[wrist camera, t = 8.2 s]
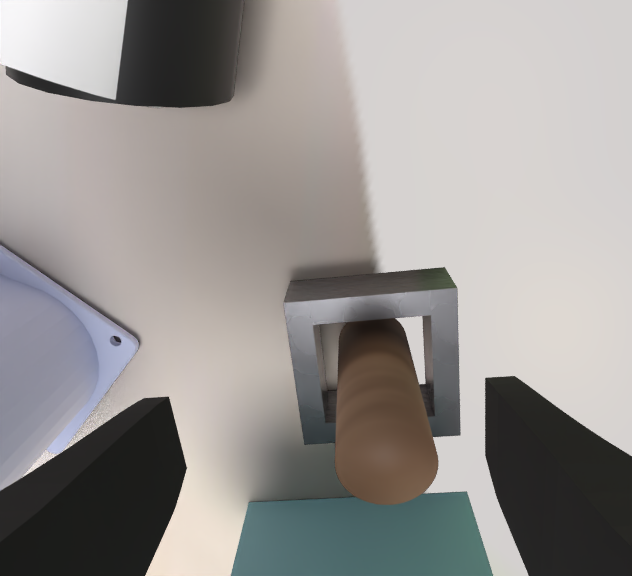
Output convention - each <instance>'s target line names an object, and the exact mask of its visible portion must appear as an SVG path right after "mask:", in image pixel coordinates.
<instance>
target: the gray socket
mask: <svg viewBox="0 0 632 576" xmlns="http://www.w3.org/2000/svg"><path fill="white" fill-rule="evenodd" d="M457 299H458V298H457V287H456V285H455V283H454V282H453V280H452V279H451V277H450V275H449V274H448V272H447V270H446V269H445V267H443V268H432V269H421V270H410V271H401V272H400V271H399V272H388V273H377V274H366V275H355V276H344V277H334V278H323V279H312V280H301V281H290V284H289V287H288V290H287V293H286V297H285V300H284V303H283V304H284V311H285V317H286V324H287V331H288V338H289V344H290V351H291V358H292V364H293V371H294V378H295V384H296V391H297V398H298V405H299V411H300V418H301V425H302V431H303V438H304V445H308V444H324V443H335V441H336V412H337V390H334V391H327V383H326V375H325V367H324V359H323V351H322V343H321V335H320V327H319V324H330V323H342V322H354V321H366V320H378V319H390V318H402V317H414V316H423V336H424V355H425V356H424V358H425V379H426V384H420V385H419V386H420V390H421V394H422V398H423V402H424V406H425V409H426V413H427V417H428V421H429V425H430V429H431V432H432V436H433V437H441V436H458V435H460V394H459V345H458V304H457V303H458V300H457Z"/></svg>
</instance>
